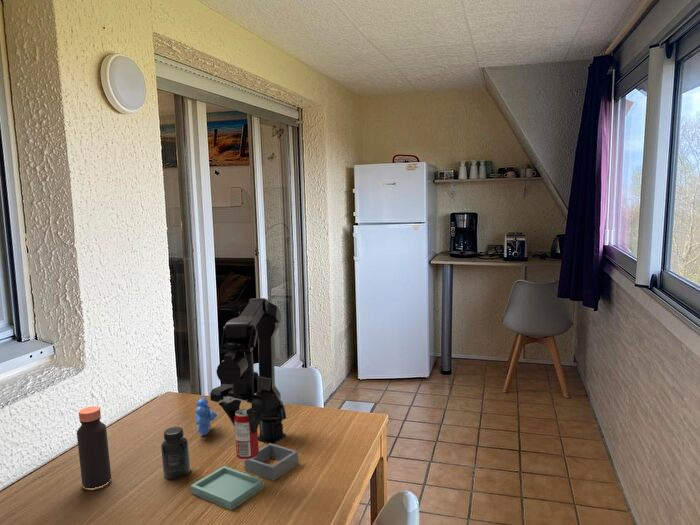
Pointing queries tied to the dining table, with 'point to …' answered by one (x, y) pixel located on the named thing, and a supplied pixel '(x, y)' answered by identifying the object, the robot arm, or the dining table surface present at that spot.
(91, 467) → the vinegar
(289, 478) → the dining table surface
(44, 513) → the dining table surface
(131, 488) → the dining table surface
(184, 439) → the supplement bottle
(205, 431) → the grapes
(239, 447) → the soda can
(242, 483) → the tray
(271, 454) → the frame
